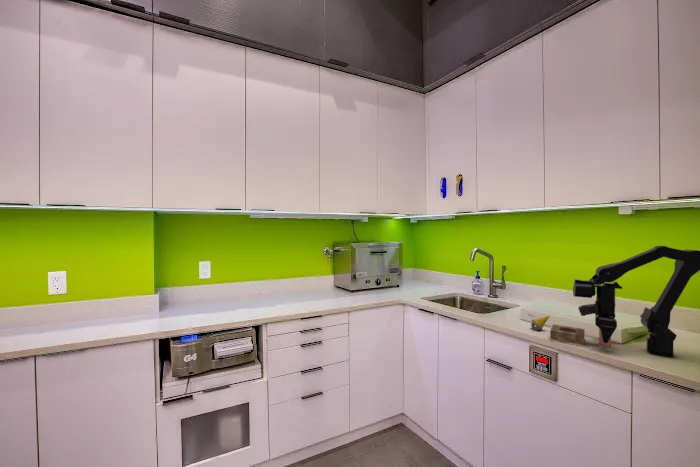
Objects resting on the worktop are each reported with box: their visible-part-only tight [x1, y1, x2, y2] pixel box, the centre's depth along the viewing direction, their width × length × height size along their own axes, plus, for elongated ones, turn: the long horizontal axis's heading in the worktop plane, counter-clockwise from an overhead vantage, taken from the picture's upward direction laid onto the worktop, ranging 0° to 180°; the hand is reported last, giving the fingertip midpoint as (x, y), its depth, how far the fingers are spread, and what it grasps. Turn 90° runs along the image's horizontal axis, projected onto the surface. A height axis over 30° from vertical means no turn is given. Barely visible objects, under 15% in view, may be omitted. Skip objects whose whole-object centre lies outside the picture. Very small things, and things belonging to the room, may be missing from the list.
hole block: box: [549, 324, 586, 347], centre depth 133 cm, size 11×11×4 cm
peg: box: [598, 327, 612, 349], centre depth 126 cm, size 4×4×9 cm
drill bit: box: [530, 315, 551, 332], centre depth 145 cm, size 5×5×10 cm
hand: (605, 339), depth 126 cm, fingers open, 9 cm apart
